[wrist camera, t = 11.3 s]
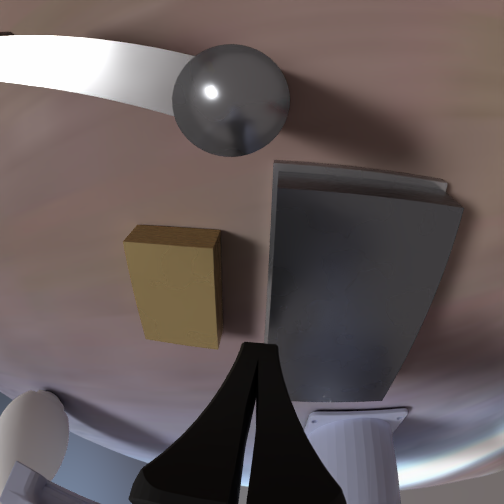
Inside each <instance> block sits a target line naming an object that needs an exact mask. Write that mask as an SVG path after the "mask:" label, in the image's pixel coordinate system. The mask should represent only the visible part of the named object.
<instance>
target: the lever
mask: <svg viewBox="0 0 504 504" xmlns="http://www.w3.org/2000/svg"><path fill="white" fill-rule="evenodd" d="M0 81H2V82H11V83H20V84H27V85H34V86H41V87H48V88H54V89H60V90H65V91H71V92H76V93H81V94H86V95H91V96H96V97H101V98H105V99H110V100H114V101H118V102H122V103H127V104H131V105H135V106H139V107H143V108H146V109H150V110H154V111H158V112H161V113H165V114H168V115H172V116H174V117H175V120H176V122H177V124H178V127H179V128H180V130H181V131H182V133H183V134H184V135H185V136H186V138H187V139H188V140H189V141H190V142H191V143H193V144H194V145H195V146H197V147H198V148H200V149H202V150H204V151H206V152H208V153H211V154H214V155H218V156H225V157H235V156H243V155H247V154H250V153H253V152H255V151H257V150H259V149H261V148H263V147H264V146H266V145H267V144H269V143H270V142H271V141H272V140H273V139H274V138H275V137H276V136H277V135H278V133H279V132H280V130H281V129H282V127H283V125H284V123H285V121H286V119H287V116H288V112H289V106H290V95H289V89H288V85H287V82H286V79H285V77H284V75H283V73H282V72H281V70H280V69H279V67H278V66H277V65H276V63H274V62H273V61H272V60H271V59H270V58H269V57H268V56H266V55H265V54H264V53H262V52H260V51H258V50H256V49H253V48H251V47H247V46H243V45H235V44H229V45H220V46H216V47H212V48H209V49H207V50H205V51H203V52H201V53H199V54H198V55H196V56H192V55H188V54H183V53H179V52H174V51H170V50H165V49H160V48H155V47H149V46H144V45H138V44H131V43H125V42H118V41H110V40H101V39H92V38H80V37H65V36H14V34H13V33H11V32H0Z"/></svg>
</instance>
